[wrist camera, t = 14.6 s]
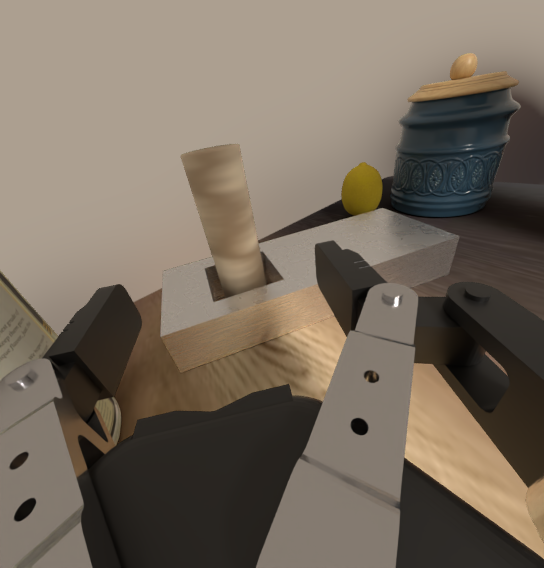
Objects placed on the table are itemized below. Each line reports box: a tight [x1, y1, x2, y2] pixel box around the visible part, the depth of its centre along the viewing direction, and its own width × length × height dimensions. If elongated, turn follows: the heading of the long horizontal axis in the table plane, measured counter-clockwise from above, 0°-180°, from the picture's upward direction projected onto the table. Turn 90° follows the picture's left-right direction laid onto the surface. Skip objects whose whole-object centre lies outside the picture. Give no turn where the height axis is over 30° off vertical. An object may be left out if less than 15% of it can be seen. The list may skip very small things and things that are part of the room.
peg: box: [181, 144, 267, 298], centre depth 21 cm, size 4×4×14 cm
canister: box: [390, 53, 520, 217], centre depth 35 cm, size 13×13×18 cm
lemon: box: [341, 162, 382, 216], centre depth 37 cm, size 6×6×8 cm
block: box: [160, 208, 459, 373], centre depth 25 cm, size 26×10×4 cm, turn 110°
